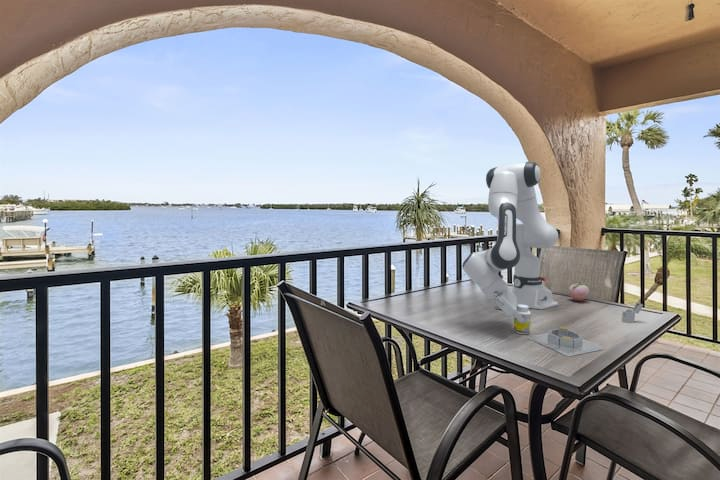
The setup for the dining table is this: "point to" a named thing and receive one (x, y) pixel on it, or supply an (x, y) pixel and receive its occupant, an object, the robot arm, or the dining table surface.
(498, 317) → the dining table surface
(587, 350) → the socket
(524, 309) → the supplement bottle
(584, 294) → the decorative fruit
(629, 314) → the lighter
